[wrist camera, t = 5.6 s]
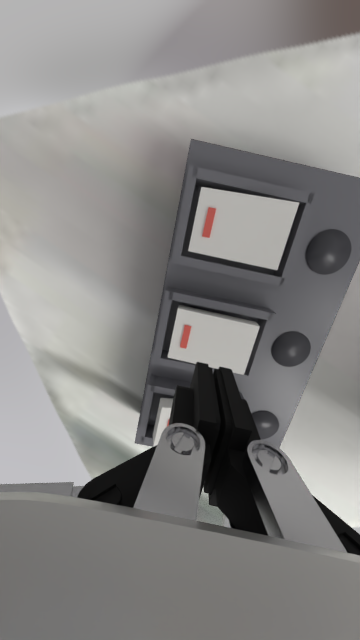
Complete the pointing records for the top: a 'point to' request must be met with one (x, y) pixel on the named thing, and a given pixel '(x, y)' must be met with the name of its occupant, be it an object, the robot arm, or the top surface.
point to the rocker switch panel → (260, 282)
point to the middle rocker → (212, 339)
